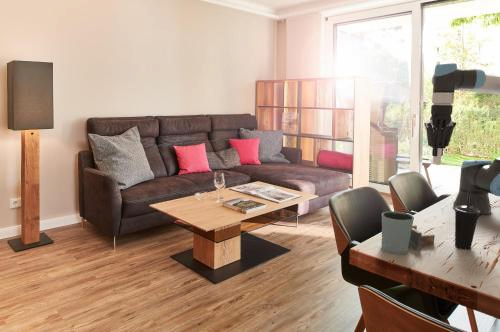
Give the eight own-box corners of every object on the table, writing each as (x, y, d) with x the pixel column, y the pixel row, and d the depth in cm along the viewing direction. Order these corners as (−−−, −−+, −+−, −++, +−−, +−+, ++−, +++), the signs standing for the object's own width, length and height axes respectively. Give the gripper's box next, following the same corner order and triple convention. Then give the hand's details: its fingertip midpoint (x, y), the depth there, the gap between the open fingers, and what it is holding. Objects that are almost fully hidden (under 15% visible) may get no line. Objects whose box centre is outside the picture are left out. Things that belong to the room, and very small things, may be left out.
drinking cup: (474, 253, 132) (481, 195, 129) (449, 248, 136) (455, 192, 133) (476, 245, 139) (482, 190, 135) (451, 241, 143) (457, 187, 139)
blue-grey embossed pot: (373, 247, 137) (375, 214, 135) (391, 241, 143) (393, 209, 140) (399, 257, 129) (401, 222, 127) (417, 250, 134) (420, 216, 132)
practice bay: (414, 233, 150) (415, 218, 149) (439, 248, 137) (441, 231, 136) (393, 235, 148) (395, 220, 147) (417, 250, 135) (418, 233, 134)
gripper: (450, 104, 159) (444, 162, 163) (421, 104, 156) (416, 163, 160) (463, 104, 152) (457, 165, 156) (433, 104, 149) (428, 166, 153)
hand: (436, 164), depth 158 cm, fingers closed
